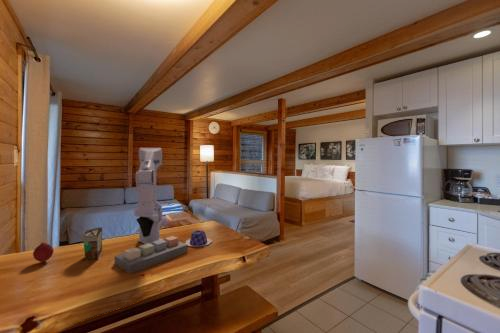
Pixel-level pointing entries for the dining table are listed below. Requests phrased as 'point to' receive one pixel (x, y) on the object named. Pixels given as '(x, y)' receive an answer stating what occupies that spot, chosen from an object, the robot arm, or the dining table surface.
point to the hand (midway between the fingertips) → (146, 236)
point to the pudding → (198, 239)
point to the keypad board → (150, 258)
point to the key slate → (159, 244)
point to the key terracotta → (171, 241)
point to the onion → (43, 252)
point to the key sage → (146, 249)
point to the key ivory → (132, 253)
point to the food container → (92, 243)
